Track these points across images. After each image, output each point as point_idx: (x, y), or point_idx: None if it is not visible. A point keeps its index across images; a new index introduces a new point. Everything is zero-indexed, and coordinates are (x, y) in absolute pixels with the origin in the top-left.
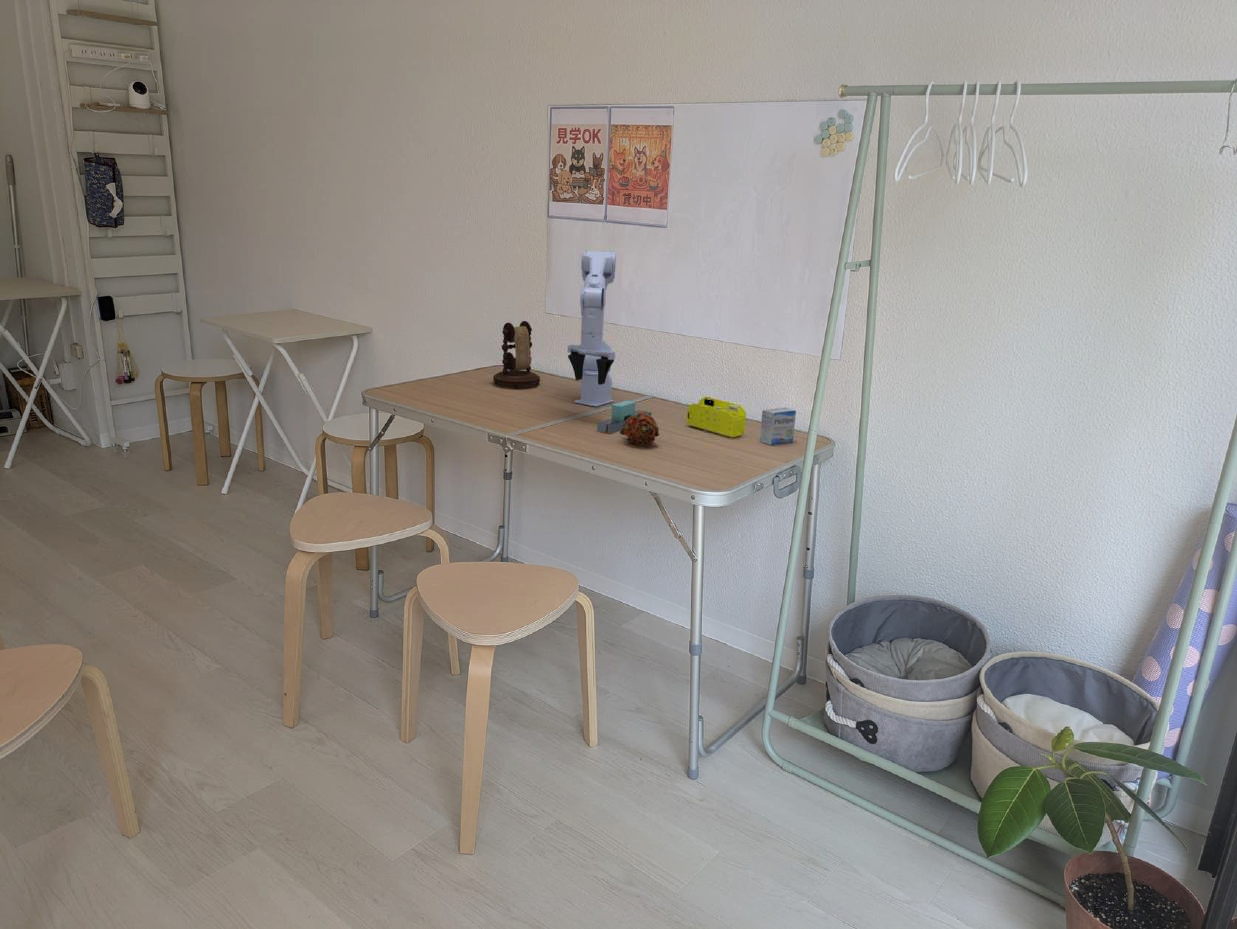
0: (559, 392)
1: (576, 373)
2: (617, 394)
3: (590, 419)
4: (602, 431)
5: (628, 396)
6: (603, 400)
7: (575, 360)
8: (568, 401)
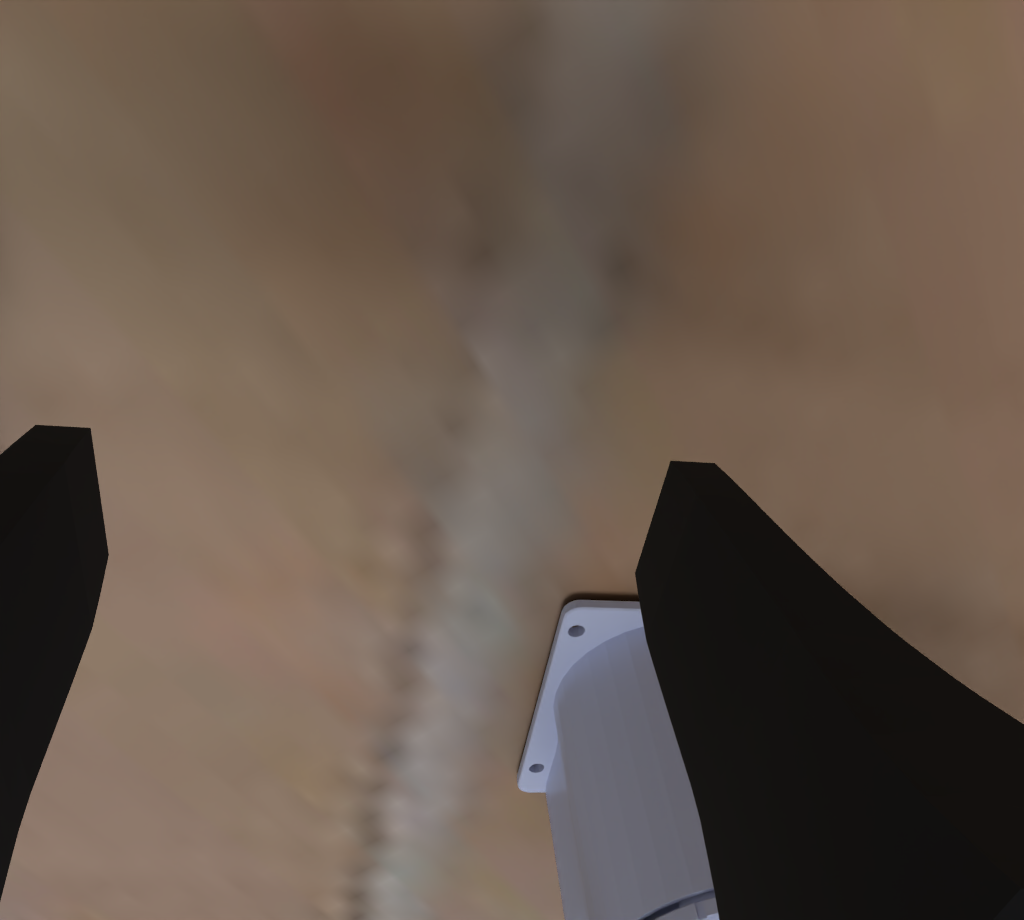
0: None
1: (734, 541)
2: None
3: (349, 172)
4: None
5: (505, 907)
6: (556, 720)
7: (905, 818)
8: None
